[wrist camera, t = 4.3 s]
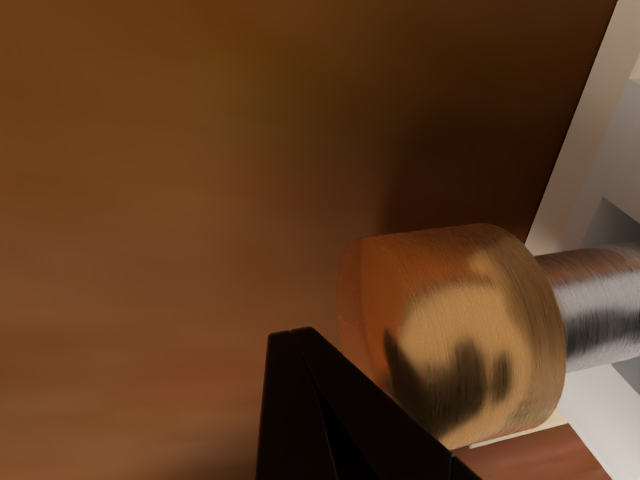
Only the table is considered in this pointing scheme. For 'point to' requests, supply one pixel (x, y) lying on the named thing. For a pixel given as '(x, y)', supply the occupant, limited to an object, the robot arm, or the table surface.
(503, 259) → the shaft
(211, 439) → the table surface
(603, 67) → the bearing block
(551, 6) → the table surface
